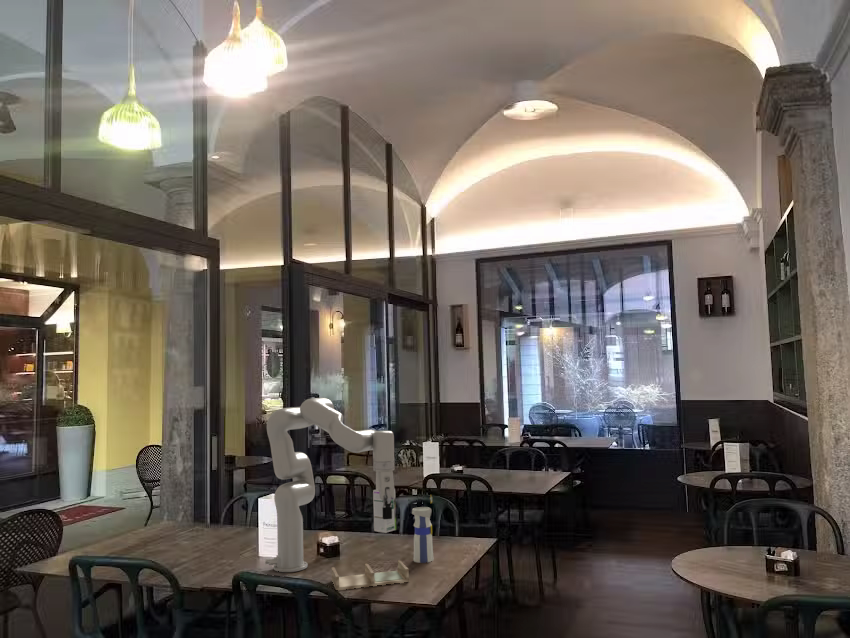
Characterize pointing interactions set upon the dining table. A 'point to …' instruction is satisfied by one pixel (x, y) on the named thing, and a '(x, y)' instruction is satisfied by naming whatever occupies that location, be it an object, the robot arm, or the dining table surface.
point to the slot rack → (370, 578)
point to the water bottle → (423, 534)
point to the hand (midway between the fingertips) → (384, 516)
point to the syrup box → (379, 522)
